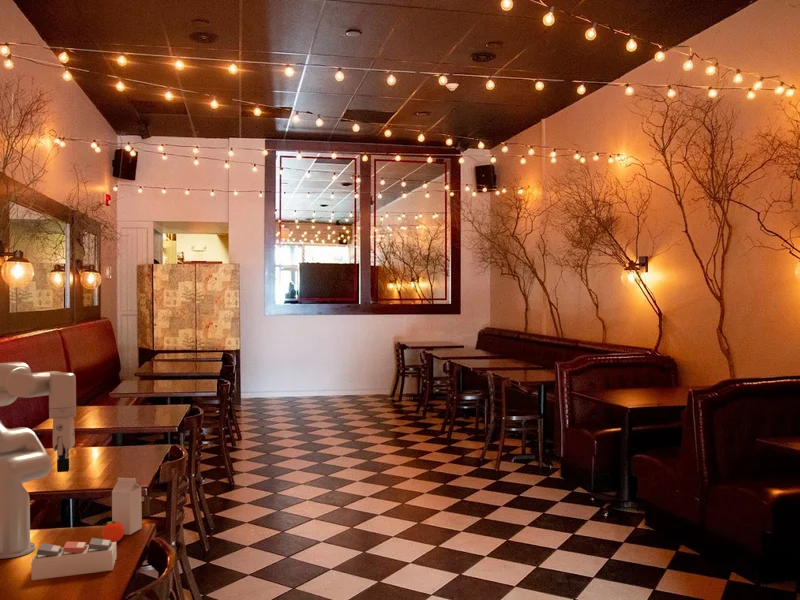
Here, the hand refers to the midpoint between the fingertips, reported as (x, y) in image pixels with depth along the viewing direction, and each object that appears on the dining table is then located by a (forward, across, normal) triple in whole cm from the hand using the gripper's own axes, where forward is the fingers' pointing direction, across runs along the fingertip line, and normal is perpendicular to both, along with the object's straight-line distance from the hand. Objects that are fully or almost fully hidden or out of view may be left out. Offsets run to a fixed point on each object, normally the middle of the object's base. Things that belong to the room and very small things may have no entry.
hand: (63, 471), depth 206 cm
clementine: (+29, +17, -12) cm, 36 cm away
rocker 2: (+22, -6, -11) cm, 25 cm away
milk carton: (+29, +27, -16) cm, 43 cm away
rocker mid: (+22, -6, -4) cm, 23 cm away
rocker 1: (+22, -6, +3) cm, 23 cm away
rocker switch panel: (+29, -4, -4) cm, 30 cm away
